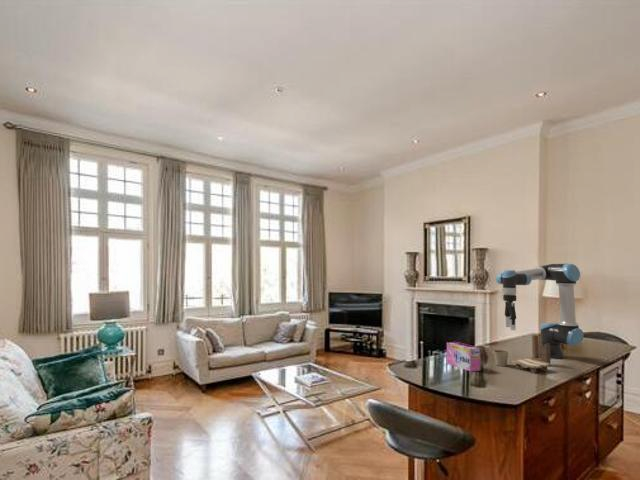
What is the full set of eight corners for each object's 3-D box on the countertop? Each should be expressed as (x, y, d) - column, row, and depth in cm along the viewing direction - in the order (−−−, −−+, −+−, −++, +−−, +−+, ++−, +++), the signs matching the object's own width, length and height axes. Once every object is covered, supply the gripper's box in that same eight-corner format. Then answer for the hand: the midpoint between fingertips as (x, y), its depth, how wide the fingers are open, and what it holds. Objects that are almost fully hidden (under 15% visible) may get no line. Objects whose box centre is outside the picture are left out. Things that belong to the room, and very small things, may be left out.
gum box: (445, 362, 254) (444, 341, 255) (455, 361, 257) (454, 340, 258) (470, 371, 232) (470, 348, 233) (481, 370, 234) (480, 347, 235)
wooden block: (547, 366, 244) (545, 337, 245) (531, 362, 253) (530, 334, 255) (551, 365, 245) (549, 336, 247) (535, 362, 255) (533, 334, 256)
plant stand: (529, 365, 246) (528, 358, 246) (551, 371, 232) (551, 363, 232) (512, 368, 240) (511, 360, 240) (534, 374, 226) (533, 366, 226)
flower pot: (490, 363, 252) (489, 349, 252) (504, 363, 253) (503, 349, 253) (498, 367, 242) (497, 353, 243) (512, 366, 243) (512, 352, 244)
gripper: (499, 293, 258) (500, 325, 257) (507, 295, 234) (508, 331, 233) (511, 293, 257) (512, 326, 255) (521, 295, 232) (522, 331, 231)
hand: (510, 328), depth 244 cm, fingers open, 13 cm apart
